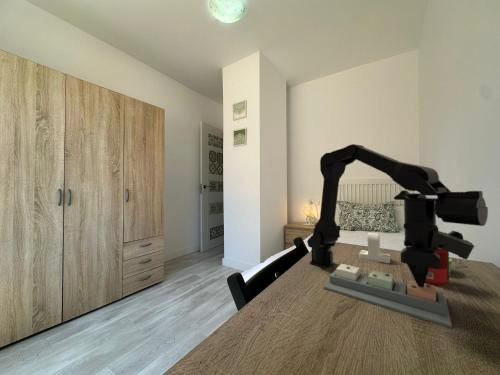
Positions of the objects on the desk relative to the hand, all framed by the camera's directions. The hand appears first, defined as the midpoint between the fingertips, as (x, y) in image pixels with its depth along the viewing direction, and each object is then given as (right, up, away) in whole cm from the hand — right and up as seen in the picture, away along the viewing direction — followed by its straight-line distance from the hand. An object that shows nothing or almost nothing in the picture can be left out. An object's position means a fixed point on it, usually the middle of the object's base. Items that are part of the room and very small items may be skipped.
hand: (420, 285), depth 48 cm
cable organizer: (+8, -5, +31) cm, 32 cm away
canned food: (+13, -5, +12) cm, 19 cm away
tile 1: (-12, -2, +10) cm, 16 cm away
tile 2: (-6, -2, +5) cm, 8 cm away
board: (-6, -4, +5) cm, 9 cm away
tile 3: (0, -2, 0) cm, 2 cm away
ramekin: (+21, -5, +20) cm, 30 cm away
